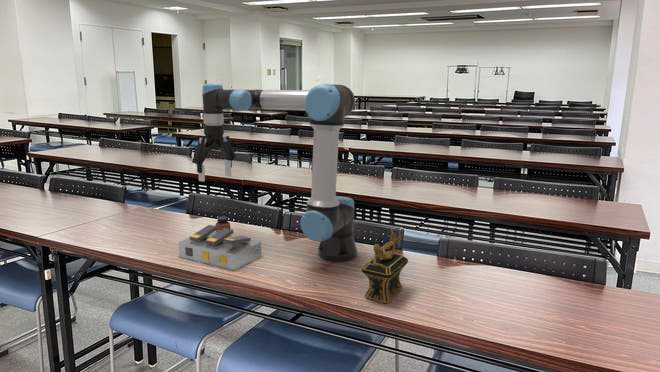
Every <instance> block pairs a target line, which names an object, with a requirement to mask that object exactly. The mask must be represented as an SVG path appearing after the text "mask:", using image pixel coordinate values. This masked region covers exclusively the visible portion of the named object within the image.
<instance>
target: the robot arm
mask: <svg viewBox="0 0 660 372" xmlns="http://www.w3.org/2000/svg"><path fill="white" fill-rule="evenodd" d="M201 97H202V109H203V124H204V125H203V134H204V136H205V137H204V138H203V137H199V138H198V140H197V145H196V149H195V152H194V154H193V157H192V159H191V163H192V164H195V165H196V172H197V173H198V181H199V182H205V181H206V175H205V174H206V171H205V164H204V161H206V159H207V157H208V155H209V153H210V152H211V151H212V150H216V149H219V151H220V153H222V155H223V156H224V158H225V159H224V171H225V173H224V175H225V176H226V177H232V168H233V161H234V160H235V158H237V155H236V153H235V150H234V148H233V146H232V144H231V138H230V136H229V135H225V127H224V125H223V124H224V123H225V121H224V120H225V119H224V110H226V111H227V110H229V111H238V112H240V111H247V110H275V111H276V110H279V111H280V110H281V111H282V110H283V111H285V110H286V111H303V112H306V114H308V115H307V116H308V117H309V125H310V126H311V128H312V129H313V143H312V144H313V145H312V146H313V147H312V165H311V166H312V167H311V169H312V171H311V196H310V198H308V199H307V200H306V208H305V209H306V211H305V213H303V214H302V216H301V218H300V224H299V225H300V228H301V232H302V233H303V234H304V235H305V236H306V238H307V239H308V240H311V241H313V242H317V243H319V245H318V248H317V249H318V250H317V255H318V257H320V258H321V259H322V260H326V261H331V262H347V261H346V260H348V261H351V260H353V258H354V259H356V257H357V256H358V248H357V245H356V241H355V239H354V224H355V223H354V222H355V221H354V219H355V201H354V199H353V198H351V197H347V196H340V195H336V194H337V178H338V177H337V176H338V158H339V156H338V155H339V141H340V139H339V138H340V136H339V135H340V130H341V129H342V128H343V127H344V124H345V117H347V116H349V115H350V114H351V113H352V111H354V108H355V105H356V99H355V95H354V93H353V91H352V89H351V88H350V87H348V86H346V85H345V84H332V83H331V84H330V83H323V84H318V85H317V84H316V85H315V86H313V87H312V88H310V89H308V90H307V89H224V87H223V84H221V83H205V84H203V85H202V95H201Z"/></svg>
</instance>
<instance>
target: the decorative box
mask: <svg viewBox="0 0 660 372" xmlns="http://www.w3.org/2000/svg"><path fill="white" fill-rule="evenodd" d="M390 230H391V232H390V233H391V235H390V237H389V241H388V242H386V243H384V245H382V246H380V244H377V243H376V244H373V251H374V254H373V258H372V259H371V260H369V261H368V262H367V263H366V264H365V265H364V266H362V268H361V273H363V274H364V275H365V276H366V277H367V279H368V281H369V282H368V283H369V284H368V289H367V291H366V292H365V295H364V297H366V298H365V299H367V298H369V299H368V300H370V299H373V300H372V301H374V300H376V301H375V302H378V301H379V302H378V303H382V302H384V303H383V304H389V303H391V302H392V301H393V299H395V298H396V296H398V294H400V293H401V292H402V290H403V289H404V288H403V285H402V283H401V280H400V275H401V272H402V270H403V268H405V266H407V264H408V263H409V258H407V257H406V256H404V255H402V254H401V253H400V254H399V253H395V250H396V244H398V243H399V242H400V241H401V240H402V237H403V235H402V234H401V235H399V236H397V237H396V233H395V232H394V230H393V229H392V228H390Z"/></svg>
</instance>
